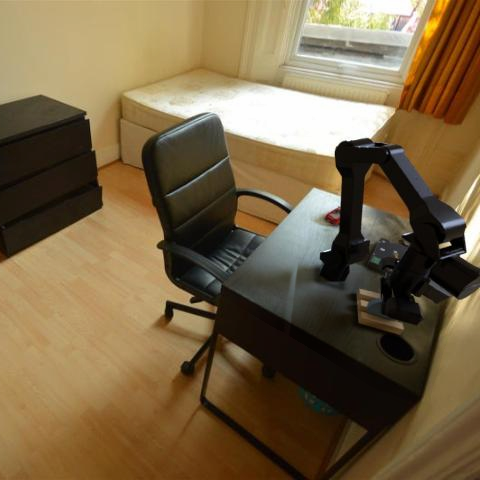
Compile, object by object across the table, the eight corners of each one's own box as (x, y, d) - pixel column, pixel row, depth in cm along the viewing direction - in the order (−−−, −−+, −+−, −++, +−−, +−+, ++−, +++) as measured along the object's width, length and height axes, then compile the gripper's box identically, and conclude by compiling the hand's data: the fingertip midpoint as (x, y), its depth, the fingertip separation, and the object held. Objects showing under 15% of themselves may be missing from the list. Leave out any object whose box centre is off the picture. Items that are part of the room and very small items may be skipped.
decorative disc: (412, 252, 104) (413, 250, 103) (397, 240, 109) (399, 238, 108) (430, 250, 105) (431, 247, 104) (414, 238, 110) (416, 235, 109)
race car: (343, 209, 123) (347, 200, 121) (357, 216, 119) (361, 207, 117) (320, 219, 118) (324, 210, 115) (334, 227, 114) (338, 218, 111)
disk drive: (376, 243, 108) (365, 267, 99) (380, 236, 106) (369, 260, 97) (413, 257, 103) (404, 283, 94) (417, 250, 101) (409, 276, 92)
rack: (357, 325, 83) (362, 317, 81) (355, 295, 90) (359, 288, 88) (398, 337, 80) (404, 329, 78) (392, 305, 87) (397, 298, 86)
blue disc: (362, 317, 83) (374, 298, 79) (362, 312, 84) (373, 293, 80) (394, 326, 81) (407, 307, 77) (393, 321, 82) (406, 302, 78)
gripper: (473, 308, 62) (429, 354, 72) (448, 248, 76) (414, 294, 85) (405, 290, 65) (372, 337, 75) (393, 236, 79) (366, 282, 89)
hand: (383, 311), depth 81 cm, fingers closed on blue disc, 2 cm apart
